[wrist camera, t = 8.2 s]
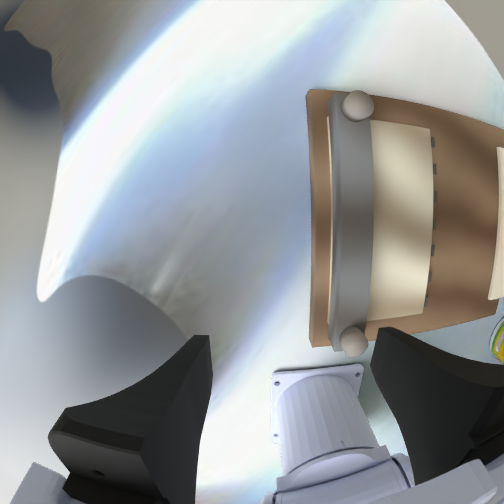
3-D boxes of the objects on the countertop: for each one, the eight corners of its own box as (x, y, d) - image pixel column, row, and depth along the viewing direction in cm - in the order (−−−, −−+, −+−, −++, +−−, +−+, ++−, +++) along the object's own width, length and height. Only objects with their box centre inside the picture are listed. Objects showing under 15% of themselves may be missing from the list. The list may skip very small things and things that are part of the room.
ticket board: (486, 309, 21) (516, 328, 16) (308, 337, 21) (322, 375, 16) (496, 132, 17) (531, 127, 12) (305, 96, 17) (322, 68, 12)
